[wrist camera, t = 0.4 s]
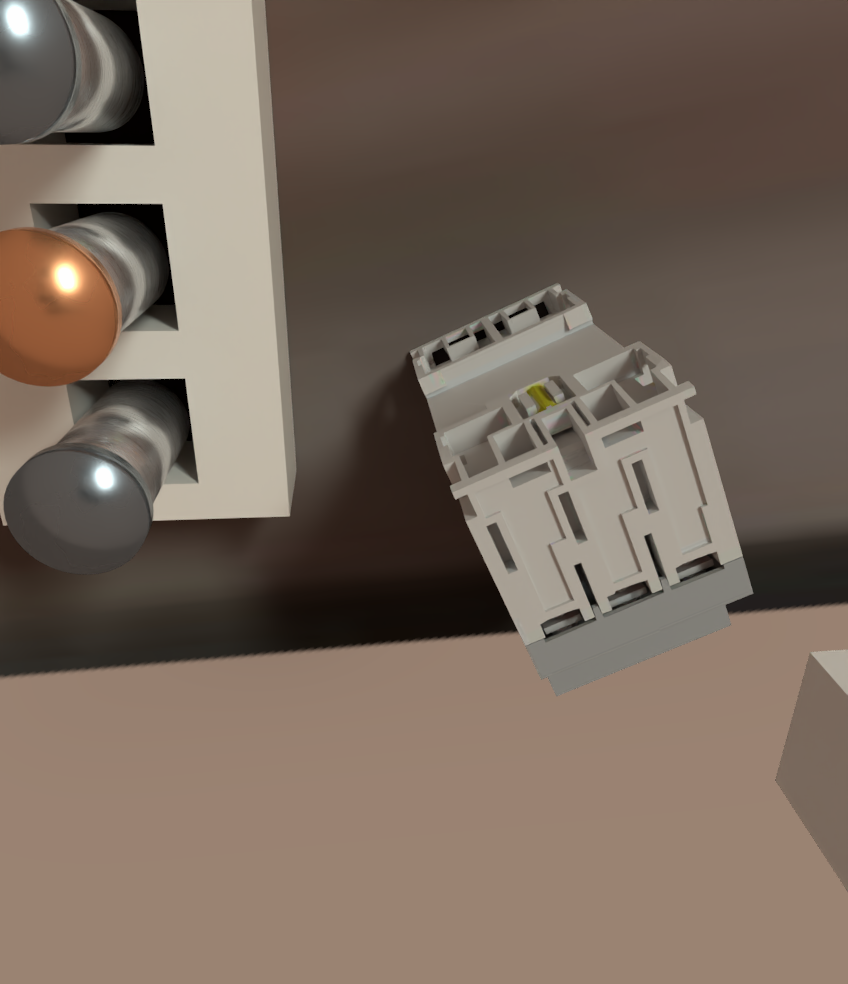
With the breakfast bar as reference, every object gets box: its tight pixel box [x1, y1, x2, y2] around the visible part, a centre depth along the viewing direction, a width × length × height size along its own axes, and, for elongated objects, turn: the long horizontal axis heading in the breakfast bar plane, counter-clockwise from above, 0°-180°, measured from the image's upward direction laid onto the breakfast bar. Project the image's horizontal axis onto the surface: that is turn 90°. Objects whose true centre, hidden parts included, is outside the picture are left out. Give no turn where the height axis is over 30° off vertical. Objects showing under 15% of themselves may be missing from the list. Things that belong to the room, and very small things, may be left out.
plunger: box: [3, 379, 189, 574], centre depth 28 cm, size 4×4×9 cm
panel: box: [0, 0, 296, 526], centre depth 30 cm, size 21×12×5 cm, turn 179°
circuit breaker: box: [410, 283, 753, 696], centre depth 31 cm, size 8×14×15 cm, turn 24°
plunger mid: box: [0, 212, 169, 387], centre depth 25 cm, size 4×4×9 cm
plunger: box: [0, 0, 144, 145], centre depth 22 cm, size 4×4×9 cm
